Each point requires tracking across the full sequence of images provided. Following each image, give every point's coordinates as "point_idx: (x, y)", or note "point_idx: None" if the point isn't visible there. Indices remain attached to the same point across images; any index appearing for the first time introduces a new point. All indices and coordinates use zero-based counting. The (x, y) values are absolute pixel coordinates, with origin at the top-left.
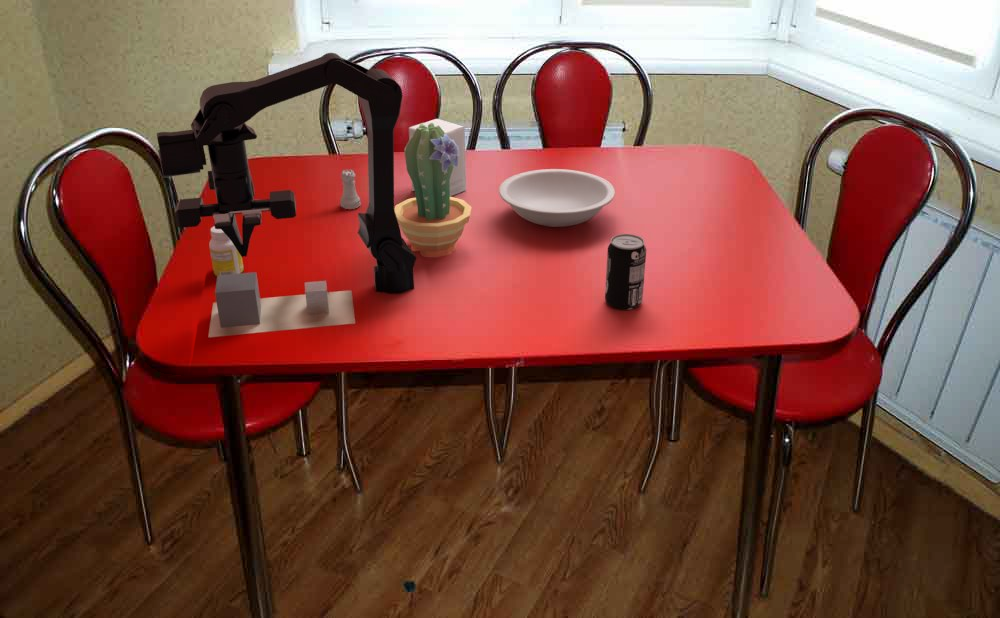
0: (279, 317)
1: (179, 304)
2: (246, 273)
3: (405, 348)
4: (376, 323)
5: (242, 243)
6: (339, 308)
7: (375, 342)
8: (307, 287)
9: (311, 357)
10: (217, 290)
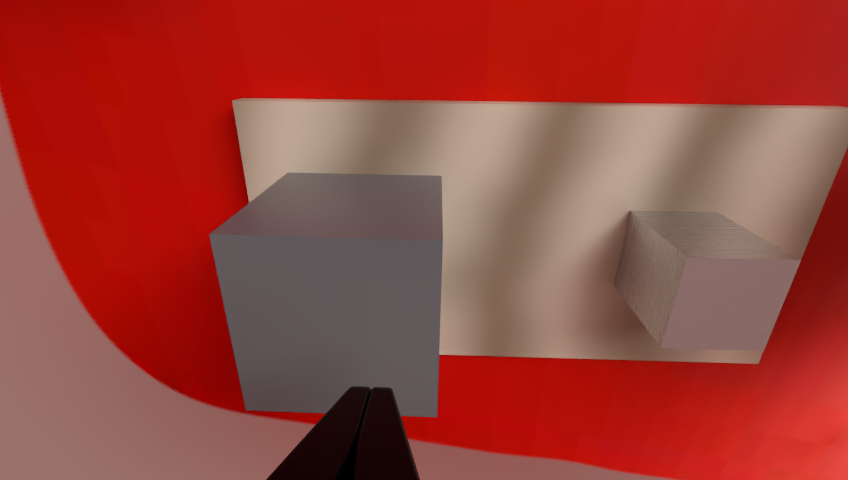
0: (509, 279)
1: (79, 29)
2: (383, 243)
3: (833, 465)
4: (823, 335)
5: (347, 462)
6: None
7: (768, 427)
8: (684, 309)
9: (572, 454)
10: (252, 392)
